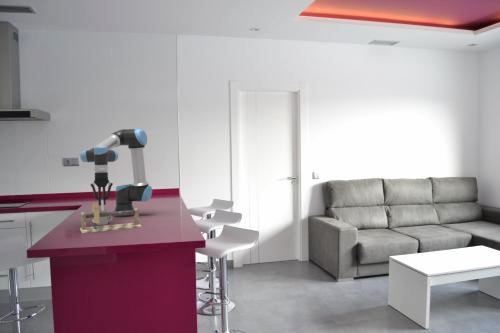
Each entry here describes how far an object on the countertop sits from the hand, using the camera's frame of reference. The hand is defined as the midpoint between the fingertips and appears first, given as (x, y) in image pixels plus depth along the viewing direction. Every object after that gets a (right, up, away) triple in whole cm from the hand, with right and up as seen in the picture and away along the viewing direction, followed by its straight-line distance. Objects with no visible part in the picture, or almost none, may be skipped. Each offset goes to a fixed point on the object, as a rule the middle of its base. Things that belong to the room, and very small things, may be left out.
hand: (102, 210), depth 233 cm
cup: (-6, -11, +19) cm, 23 cm away
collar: (-3, -7, -2) cm, 7 cm away
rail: (+4, -11, +3) cm, 13 cm away
